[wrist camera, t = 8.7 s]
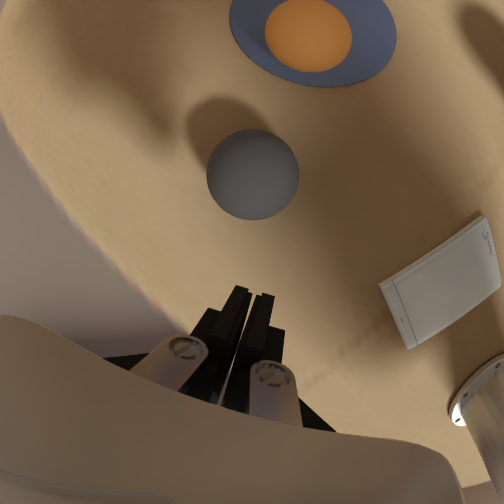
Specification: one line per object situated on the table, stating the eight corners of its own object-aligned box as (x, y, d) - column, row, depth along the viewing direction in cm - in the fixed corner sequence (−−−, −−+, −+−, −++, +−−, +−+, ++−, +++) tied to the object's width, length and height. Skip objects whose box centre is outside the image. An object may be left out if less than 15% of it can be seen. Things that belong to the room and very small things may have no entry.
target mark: (399, -8, 14) (400, -9, 14) (384, 110, 18) (384, 110, 18) (252, -43, 15) (252, -44, 14) (211, 68, 19) (210, 67, 19)
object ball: (336, 94, 18) (347, 38, 17) (355, 56, 12) (363, -4, 11) (258, 76, 18) (276, 22, 17) (251, 32, 12) (274, -24, 11)
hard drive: (487, 216, 18) (381, 288, 21) (502, 287, 20) (408, 354, 23) (477, 213, 20) (376, 281, 23) (494, 281, 21) (403, 344, 24)
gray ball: (288, 246, 18) (308, 185, 21) (280, 169, 13) (304, 116, 16) (205, 231, 20) (236, 177, 23) (177, 163, 15) (220, 114, 18)
